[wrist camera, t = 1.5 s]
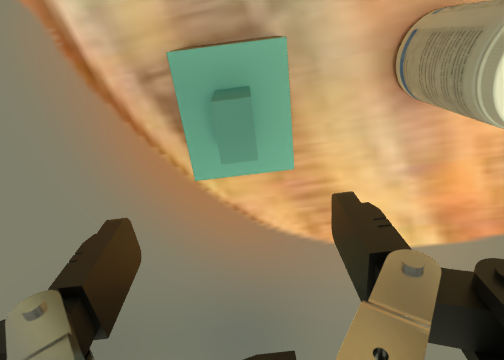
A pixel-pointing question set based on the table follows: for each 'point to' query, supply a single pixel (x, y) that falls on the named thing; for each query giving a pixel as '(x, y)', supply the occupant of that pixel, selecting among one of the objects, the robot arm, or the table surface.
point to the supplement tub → (457, 60)
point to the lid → (235, 107)
